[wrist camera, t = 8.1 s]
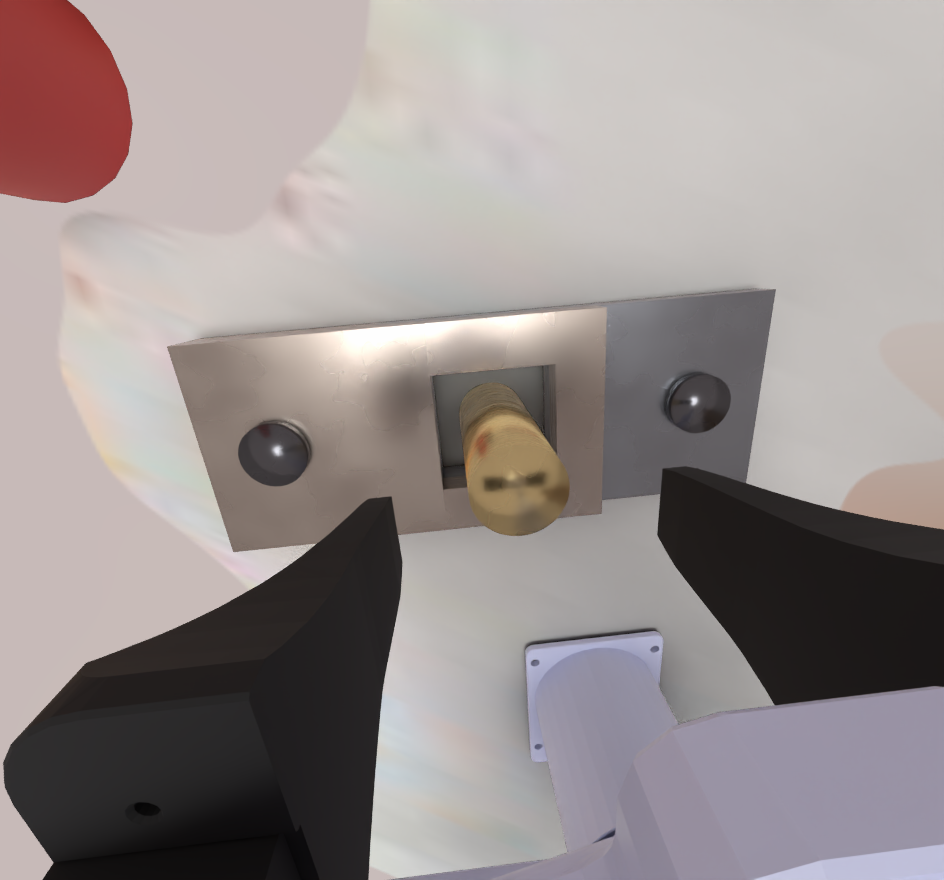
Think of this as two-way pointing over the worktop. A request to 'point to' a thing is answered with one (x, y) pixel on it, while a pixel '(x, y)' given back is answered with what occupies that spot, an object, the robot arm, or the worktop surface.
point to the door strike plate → (415, 417)
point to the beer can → (58, 104)
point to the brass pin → (509, 463)
